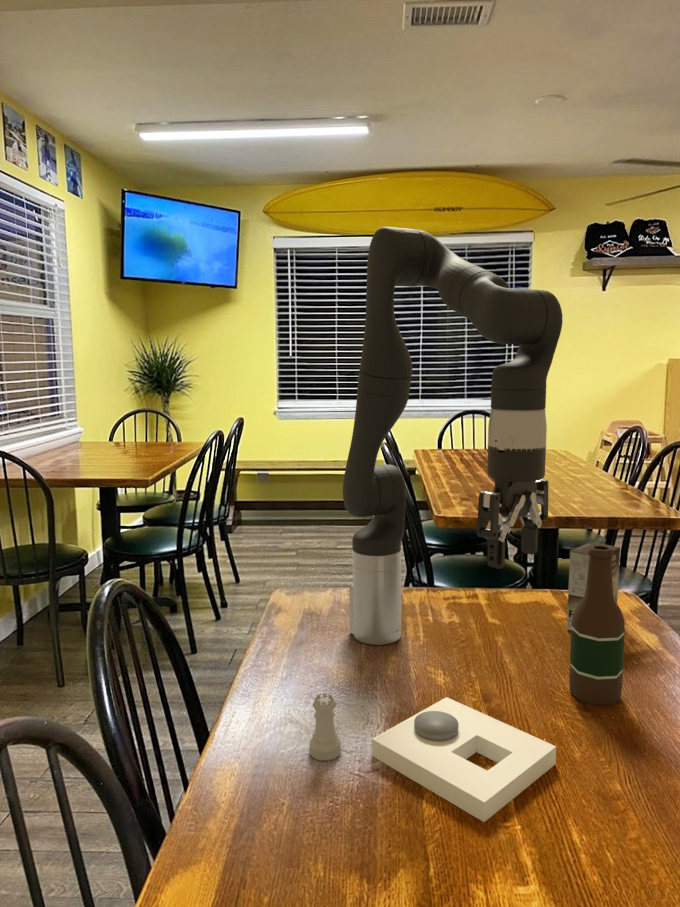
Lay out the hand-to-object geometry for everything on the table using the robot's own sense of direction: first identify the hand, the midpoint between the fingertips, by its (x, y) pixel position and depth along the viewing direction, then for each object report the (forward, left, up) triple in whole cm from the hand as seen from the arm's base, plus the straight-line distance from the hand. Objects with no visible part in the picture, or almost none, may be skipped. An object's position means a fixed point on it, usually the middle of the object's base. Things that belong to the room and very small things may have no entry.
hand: (512, 560), depth 91 cm
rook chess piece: (-15, -22, -26) cm, 37 cm away
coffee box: (-10, +44, -26) cm, 52 cm away
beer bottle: (+3, +19, -26) cm, 32 cm away
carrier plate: (-1, -10, -26) cm, 27 cm away
